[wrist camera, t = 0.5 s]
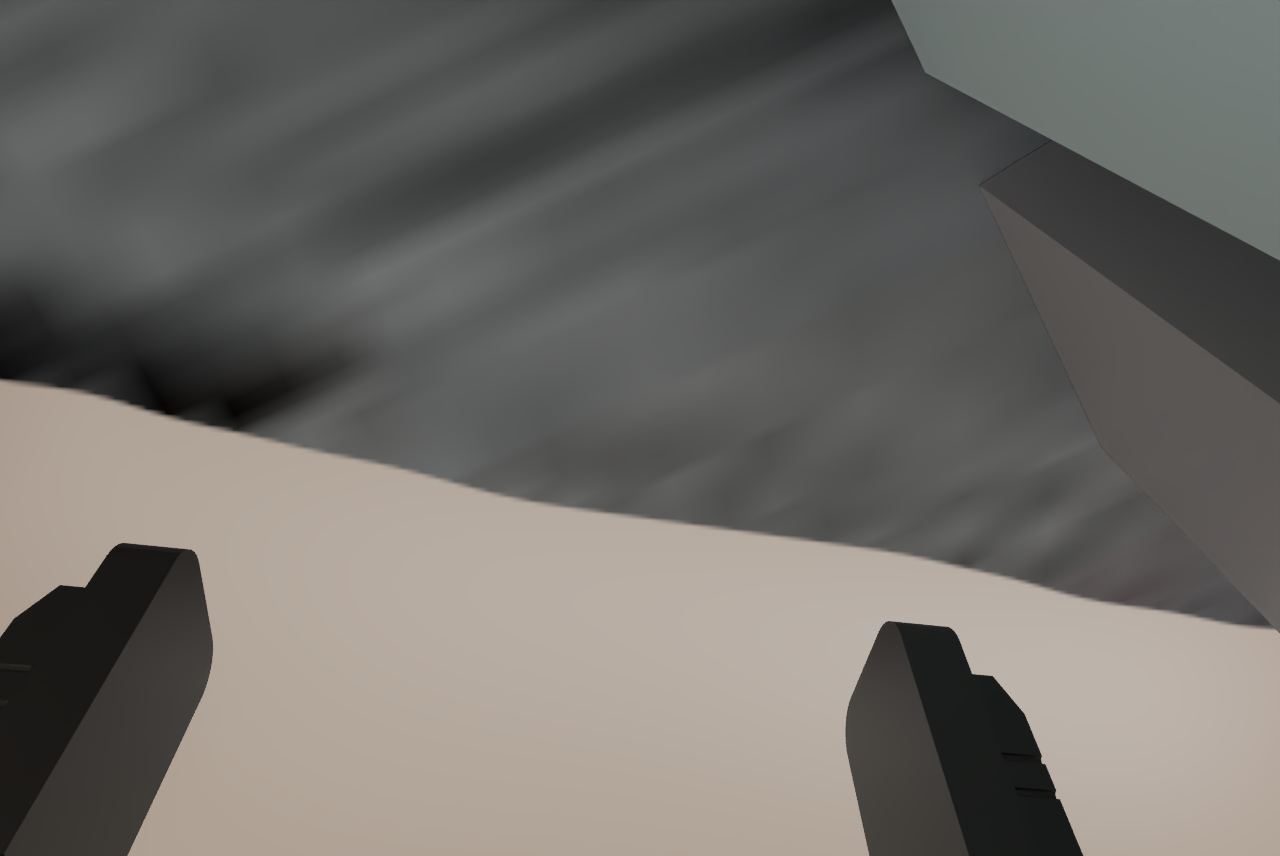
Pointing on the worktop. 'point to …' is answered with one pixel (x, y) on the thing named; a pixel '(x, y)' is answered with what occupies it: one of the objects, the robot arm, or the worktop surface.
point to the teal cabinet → (1131, 90)
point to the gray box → (1161, 349)
